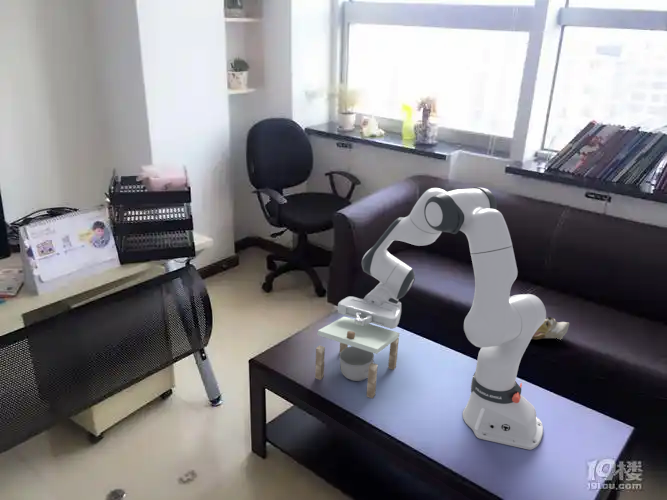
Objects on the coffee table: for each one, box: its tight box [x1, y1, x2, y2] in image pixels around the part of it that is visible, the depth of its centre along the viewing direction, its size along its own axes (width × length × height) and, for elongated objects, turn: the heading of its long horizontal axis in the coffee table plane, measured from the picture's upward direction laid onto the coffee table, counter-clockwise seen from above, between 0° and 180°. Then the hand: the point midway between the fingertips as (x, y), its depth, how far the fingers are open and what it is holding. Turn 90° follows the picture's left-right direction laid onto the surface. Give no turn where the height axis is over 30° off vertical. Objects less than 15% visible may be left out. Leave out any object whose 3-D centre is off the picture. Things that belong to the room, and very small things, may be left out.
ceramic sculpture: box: [531, 316, 570, 341], centre depth 210 cm, size 11×9×15 cm
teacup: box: [339, 346, 375, 382], centre depth 186 cm, size 14×11×8 cm
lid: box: [316, 315, 400, 355], centre depth 181 cm, size 20×19×3 cm
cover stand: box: [314, 337, 400, 400], centre depth 185 cm, size 20×20×11 cm
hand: (358, 323), depth 179 cm, fingers closed
